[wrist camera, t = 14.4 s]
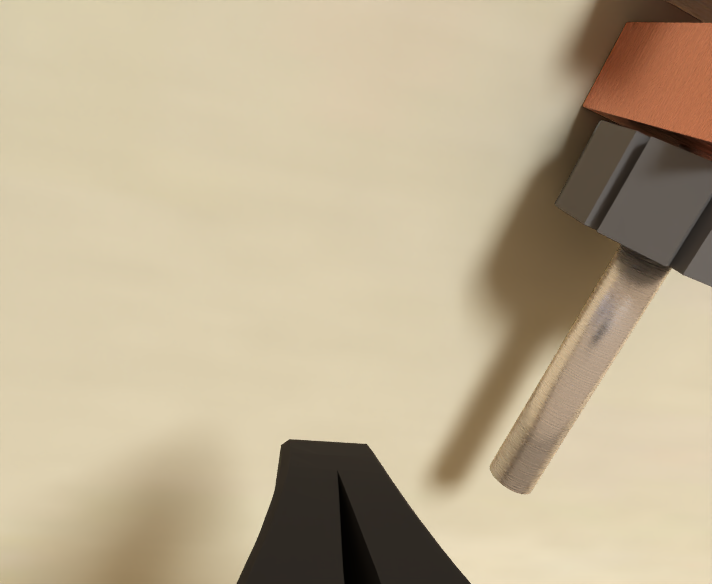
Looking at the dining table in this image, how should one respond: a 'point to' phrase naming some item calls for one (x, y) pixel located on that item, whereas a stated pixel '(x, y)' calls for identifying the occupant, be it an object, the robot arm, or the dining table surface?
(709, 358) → the dining table surface
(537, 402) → the chassis
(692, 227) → the grey octagonal nut
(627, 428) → the dining table surface
